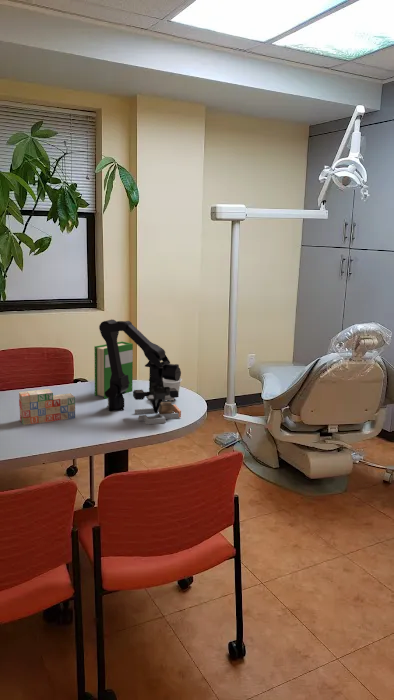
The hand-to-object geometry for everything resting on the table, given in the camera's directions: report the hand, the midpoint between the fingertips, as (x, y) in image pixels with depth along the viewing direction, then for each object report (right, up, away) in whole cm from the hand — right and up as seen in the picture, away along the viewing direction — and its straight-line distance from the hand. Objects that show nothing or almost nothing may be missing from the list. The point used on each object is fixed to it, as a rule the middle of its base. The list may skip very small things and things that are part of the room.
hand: (155, 412), depth 233 cm
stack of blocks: (-44, -2, -8) cm, 45 cm away
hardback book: (-22, +6, +30) cm, 38 cm away
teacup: (+3, +4, +25) cm, 26 cm away
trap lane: (+1, -1, +1) cm, 2 cm away
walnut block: (+4, -1, +2) cm, 5 cm away
